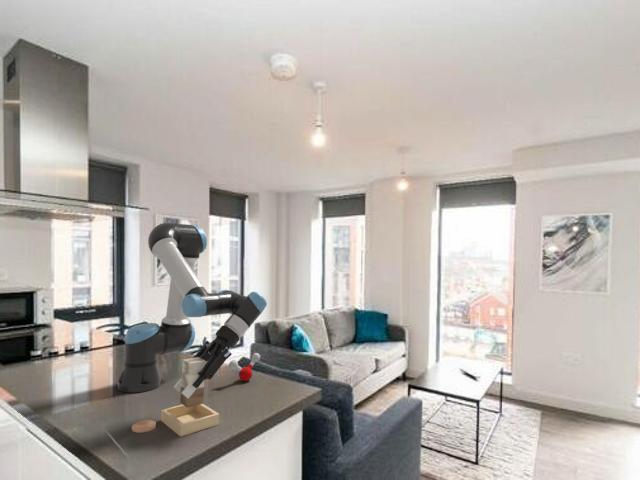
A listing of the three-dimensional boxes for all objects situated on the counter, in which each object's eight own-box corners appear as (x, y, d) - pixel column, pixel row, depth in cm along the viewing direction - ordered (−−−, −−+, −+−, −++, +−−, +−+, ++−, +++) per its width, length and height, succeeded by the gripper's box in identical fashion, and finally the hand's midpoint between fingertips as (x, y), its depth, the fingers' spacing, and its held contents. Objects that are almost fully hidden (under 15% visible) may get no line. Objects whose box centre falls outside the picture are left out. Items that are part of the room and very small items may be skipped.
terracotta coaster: (126, 433, 106) (127, 428, 106) (139, 423, 113) (139, 419, 113) (148, 434, 106) (148, 430, 106) (159, 424, 112) (160, 420, 112)
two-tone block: (180, 402, 114) (182, 359, 114) (195, 398, 117) (198, 357, 118) (187, 407, 110) (190, 363, 111) (203, 403, 114) (205, 360, 114)
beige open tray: (160, 421, 114) (161, 409, 114) (197, 411, 123) (197, 400, 123) (180, 438, 104) (181, 425, 105) (218, 425, 113) (219, 413, 113)
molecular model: (251, 374, 164) (252, 351, 165) (262, 376, 162) (263, 352, 162) (226, 385, 148) (227, 360, 149) (238, 388, 146) (239, 362, 146)
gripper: (253, 344, 119) (202, 409, 107) (224, 333, 132) (175, 391, 119) (240, 329, 115) (186, 395, 103) (211, 320, 128) (160, 377, 116)
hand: (180, 392), depth 111 cm, fingers closed on two-tone block, 5 cm apart
